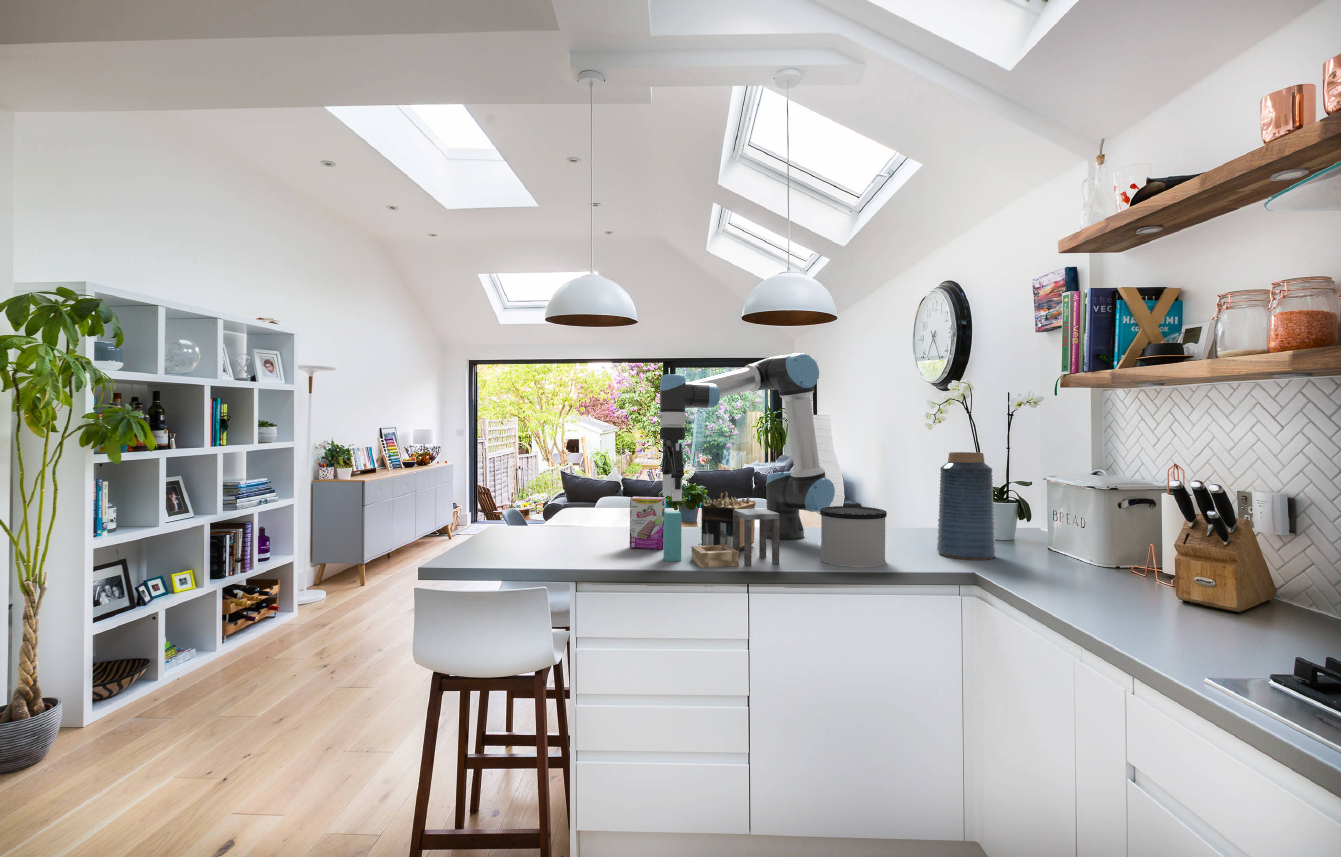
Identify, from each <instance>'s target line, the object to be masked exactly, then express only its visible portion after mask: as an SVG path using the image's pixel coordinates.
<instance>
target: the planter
mask: <svg viewBox="0 0 1341 857" xmlns="http://www.w3.org/2000/svg"><path fill="white" fill-rule="evenodd" d="M723 495H724V493H723V492H721V493H720V496H719V498H717V499H716V498H713V499H703V500H702V503H701V505H700V507H701V518H700V519H701V527H700V528H701V543H697V545H696V546H707V545H728V546H730V547H732V548H733V509H756V505H757V504H756V501H755V500H751V499H750V497H748V496H747V498H746V499H745V498H744V497H742V498H741V499H740V500H739V499H738V498H736V497H733V496H731V497H730V498H729V497H728V491H725V497H724V498H723ZM755 521H756V520H752V543H751V548H753V547H754V546H752V545H753V544H754V543H755V530H756V529H755V527H756V526H755ZM741 552H744V519H743V518H740V553H741Z"/></svg>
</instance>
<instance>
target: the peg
mask: <svg viewBox="0 0 1341 857" xmlns="http://www.w3.org/2000/svg"><path fill="white" fill-rule="evenodd" d="M663 559H664V561H666V562H681V561H682V512H680V511H679V510H671V511H667V510H665V511H664V549H663Z"/></svg>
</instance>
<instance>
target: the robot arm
mask: <svg viewBox="0 0 1341 857" xmlns="http://www.w3.org/2000/svg"><path fill="white" fill-rule="evenodd" d="M819 370H820V369H819V366H818V363H817V361H816V360H815V359H814V358H813V357H812V356H811V355H809V354H807V353H803V352H794V353H790V354H782V355H775V356H770V357H768V358H764V359H762V360H758V361H756V362H753V363H749V364H746V365H745V366H744V367H742V368H741V369H738V370H732V371H730V372H725V373H724V372H723V373H721V374H716V375H713V376H708V377H704V378H700V379H696V380H692V381H688V382H687V379H686V376H685V375H683V374H679V373H678V374H675V373H673V374H671V373H669V374H663V375H661V377H660V381H659V382H660V383H659V412H660V413H659V415H658V416H657V418H658V419H659V425H660V426H661V427H660V428H659V439H660V440H662V441H666V442H663V452H662V459H661V460H662V461H661V467H660V468H661V469H660V471H661V472H662V497H671V502H682V501H683V477H684V476H685V470H684V460H683V452H682V450H683V449H682V448H683V447H682V446H683V444H682V442H681V443H679V441H684V440H685V439H686V428H685V427H684V426H685V425H686V409H694V408H695V409H696V408H697V409H698V408H701V409H703V408H704V409H711V408H715V407H716V406H718V404H719V402H720V399H721V398H723V397H726V396H731V395H734V394H738V393H743V392H747V391H749V392H752V393H754V392H757V391H765V390H767V391H768V390H773V391H775V390H777V391H778V393H779V394H778V395H779V397H780V398H781V399H782V400H784V405H785V412H786V414H785V415H786V420H787V426H788V434H789V440H790V441H789V442H790V446H791V456H792V463H793V470H792V471H783V472H782V471H781V472H772V473H769V474H767V476H766V482H765V486H766V490H765V491H766V509H767V510H770V511H773V512H776V513H779V540H794V539H795V540H796V539H802V538H804V537H805V529H804V526H803V523H802V520H801V516H800V510H801V511H807V512H810V513H816V512H817V513H820V509H821V508H825V507H831V505H832V503H833V501H834V498H835V493H836V492H835V491H836V489H835V484H834V483H833V482H832V480H831V479H829V478H827V477H826V470H825V469H824V468H823V467H821V465H820V461H819V460H820V458H819V453H818V445H817V436H816V431H815V430H816V429H815V422H814V421H815V420H814V414H813V408H812V407H813V406H812V400H811V399H812V398H811V396H812V395H813V393H814V392H815V385H816V384H817V383H818V380H819V378H820V371H819ZM766 538H768V539H769V538H770V539H772V519H766Z"/></svg>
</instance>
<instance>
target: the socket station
mask: <svg viewBox="0 0 1341 857" xmlns="http://www.w3.org/2000/svg"><path fill="white" fill-rule="evenodd" d="M740 518H743V519H744V551H743V553H744V554H743V556H744V557H743V562H744V563H743V564H744V566H746V567H749V566H750V567H751V566H752V547H751V546H752V545H751V543H752V520H755V521H758V520H759V521H758V523H759V537H758V538H759V545H758V546H759V548H758V549H759V551H758V552H759V553H758V554H759V555H758V556H759V557H760V558H767V537H766V519H772V538H771V564H772V565H776V566H777V565H780V539H779V513H776V512H773V511H770V510H767V508H755V509H733V548H732V547H730V546H728V545H707V546H702V545H692V546H691V561H693V562H694V563H695V564H696V565H698V567H700V568H718V567H719V568H722V567H739V564H740V563H739V561H740V558H741V556H740V555H741V552H740Z"/></svg>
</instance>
